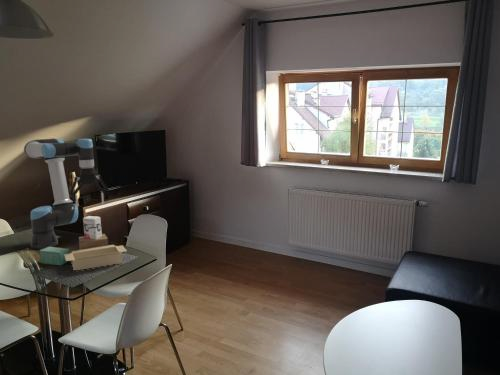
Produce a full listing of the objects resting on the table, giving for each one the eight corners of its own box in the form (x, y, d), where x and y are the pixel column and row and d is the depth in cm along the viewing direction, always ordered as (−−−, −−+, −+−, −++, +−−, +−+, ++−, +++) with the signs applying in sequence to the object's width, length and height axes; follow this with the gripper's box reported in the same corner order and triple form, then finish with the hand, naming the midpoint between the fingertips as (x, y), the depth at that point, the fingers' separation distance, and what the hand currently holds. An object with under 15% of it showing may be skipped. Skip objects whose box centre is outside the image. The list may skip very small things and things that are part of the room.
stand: (80, 254, 236) (78, 237, 234) (105, 250, 243) (104, 233, 241) (82, 259, 228) (80, 242, 226) (108, 255, 234) (107, 238, 232)
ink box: (84, 238, 233) (82, 217, 231) (90, 235, 237) (88, 215, 235) (96, 239, 230) (94, 218, 228) (102, 237, 234) (100, 216, 232)
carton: (64, 263, 222) (63, 249, 221) (121, 253, 236) (120, 240, 235) (67, 274, 206) (66, 260, 205) (129, 263, 220) (128, 249, 219)
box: (61, 265, 219) (59, 252, 217) (40, 263, 222) (38, 250, 221) (70, 261, 226) (69, 248, 224) (50, 259, 229) (48, 246, 228)
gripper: (62, 169, 217) (66, 209, 221) (112, 166, 229) (114, 203, 233) (61, 168, 224) (65, 206, 227) (109, 164, 235) (112, 201, 239)
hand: (90, 205), depth 230 cm, fingers open, 13 cm apart
